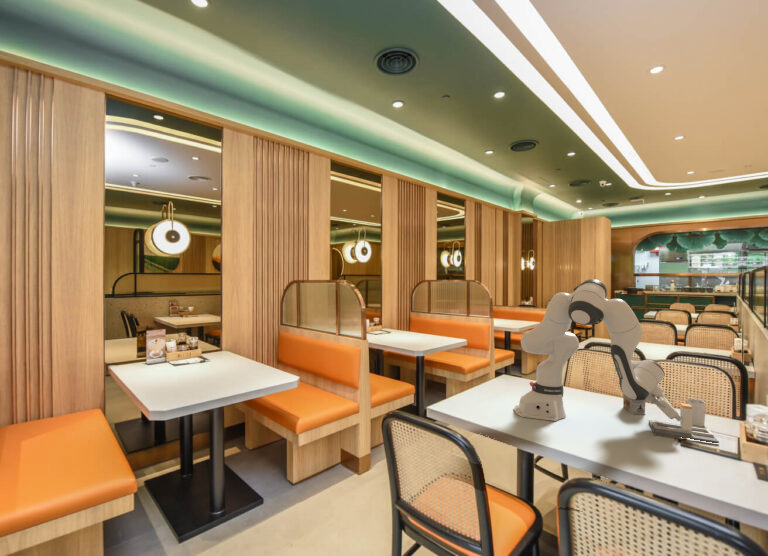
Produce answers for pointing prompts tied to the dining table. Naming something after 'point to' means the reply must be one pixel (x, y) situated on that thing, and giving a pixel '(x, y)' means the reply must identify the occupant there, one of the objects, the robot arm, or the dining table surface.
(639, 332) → the robot arm
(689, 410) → the fader
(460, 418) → the dining table surface
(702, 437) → the console
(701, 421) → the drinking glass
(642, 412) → the coffee box
